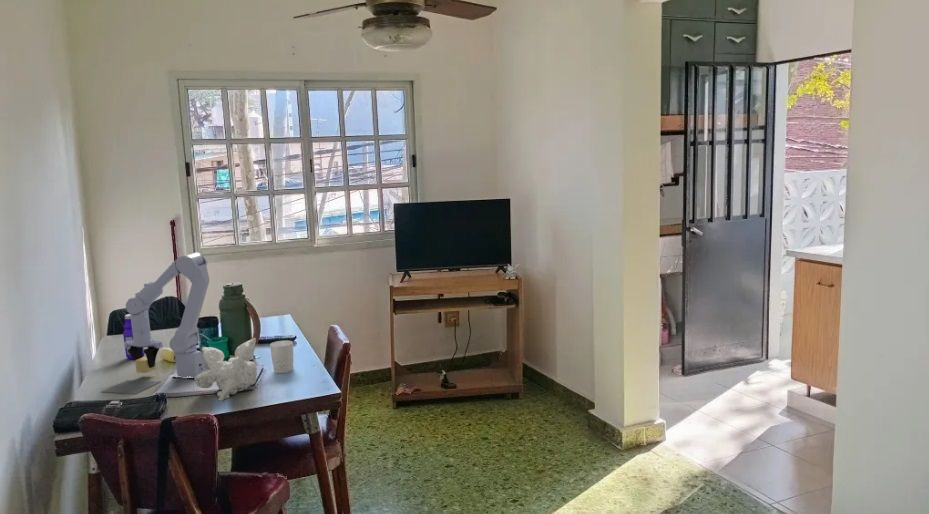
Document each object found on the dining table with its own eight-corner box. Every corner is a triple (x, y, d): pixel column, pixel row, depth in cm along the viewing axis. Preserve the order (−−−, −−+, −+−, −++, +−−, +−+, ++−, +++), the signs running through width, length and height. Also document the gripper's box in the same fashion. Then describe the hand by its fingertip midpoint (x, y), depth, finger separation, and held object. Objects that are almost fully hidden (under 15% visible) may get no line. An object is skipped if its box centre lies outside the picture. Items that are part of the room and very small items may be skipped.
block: (156, 368, 237) (154, 356, 237) (147, 372, 233) (145, 360, 232) (145, 368, 239) (144, 356, 238) (136, 372, 234) (135, 360, 234)
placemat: (160, 382, 229) (160, 381, 229) (135, 394, 217) (135, 393, 217) (127, 380, 232) (127, 379, 232) (100, 392, 221) (100, 391, 221)
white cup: (284, 366, 241) (281, 339, 239) (299, 368, 237) (297, 341, 235) (267, 372, 234) (265, 345, 233) (283, 375, 230) (281, 347, 229)
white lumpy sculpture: (268, 349, 230) (251, 332, 212) (268, 406, 222) (250, 394, 204) (213, 355, 229) (191, 339, 211) (211, 413, 221) (188, 401, 203)
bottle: (135, 360, 258) (130, 316, 255) (123, 359, 259) (117, 316, 257) (148, 354, 265) (143, 312, 263) (135, 354, 266) (130, 312, 264)
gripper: (166, 327, 236) (170, 363, 238) (132, 326, 239) (137, 362, 241) (152, 332, 229) (157, 370, 231) (117, 331, 233) (122, 368, 235)
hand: (145, 366), depth 236 cm, fingers closed on block, 4 cm apart
